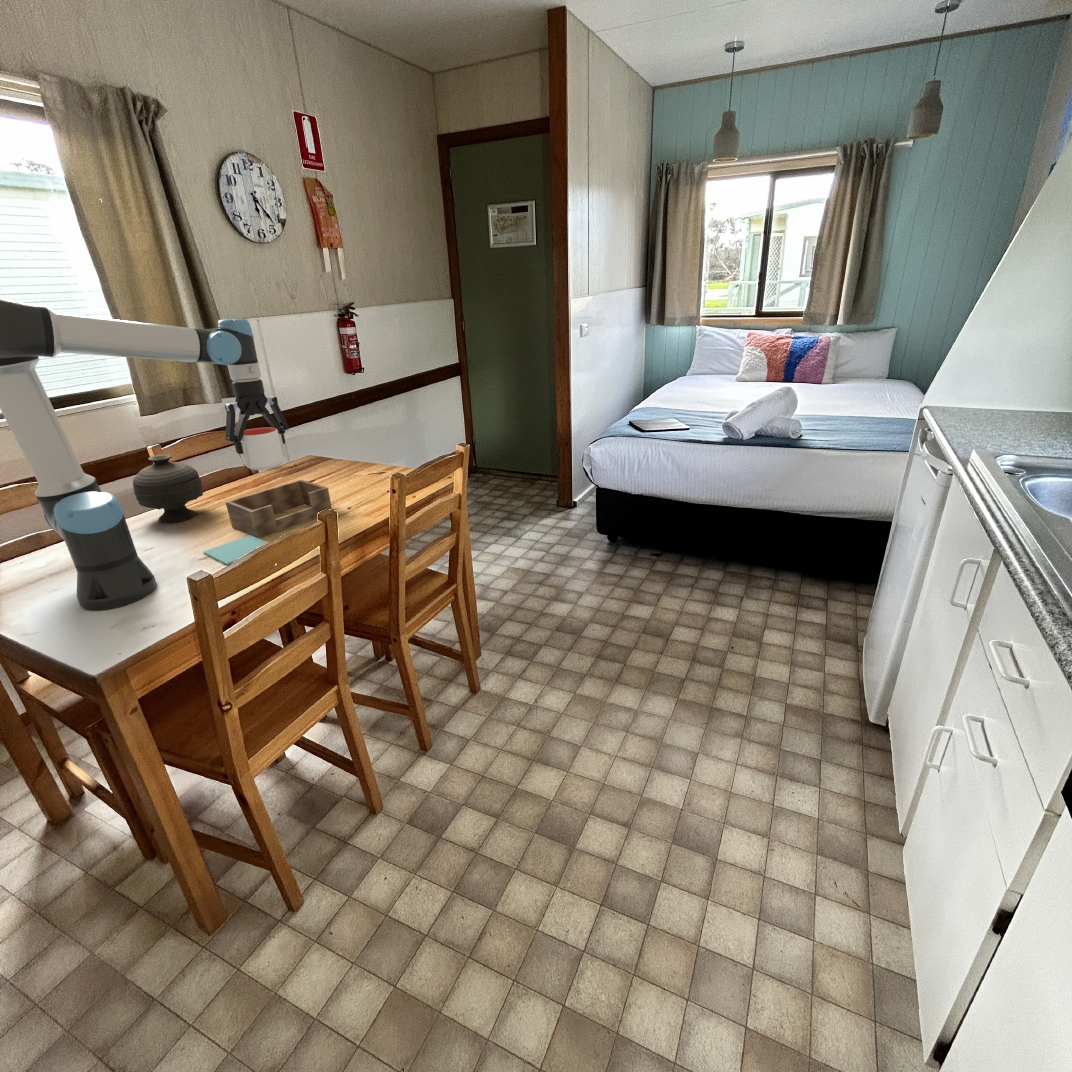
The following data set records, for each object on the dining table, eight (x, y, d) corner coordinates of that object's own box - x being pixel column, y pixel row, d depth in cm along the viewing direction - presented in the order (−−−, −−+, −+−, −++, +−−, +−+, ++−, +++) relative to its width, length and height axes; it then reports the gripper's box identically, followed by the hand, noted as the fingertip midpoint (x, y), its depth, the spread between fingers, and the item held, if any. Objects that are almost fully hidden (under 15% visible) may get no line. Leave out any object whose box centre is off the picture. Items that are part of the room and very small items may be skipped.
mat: (227, 565, 148) (226, 563, 147) (203, 553, 155) (203, 551, 155) (275, 547, 157) (274, 545, 157) (250, 536, 164) (250, 535, 164)
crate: (258, 538, 163) (251, 512, 160) (232, 527, 172) (225, 501, 168) (332, 512, 180) (327, 487, 177) (305, 503, 189) (300, 479, 186)
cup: (270, 471, 161) (263, 435, 158) (238, 470, 163) (230, 435, 159) (291, 461, 170) (284, 427, 167) (260, 460, 172) (253, 427, 168)
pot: (225, 508, 185) (201, 448, 176) (172, 533, 171) (144, 470, 162) (189, 502, 193) (166, 444, 184) (137, 526, 179) (108, 465, 170)
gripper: (210, 386, 147) (231, 471, 156) (292, 375, 163) (307, 452, 172) (197, 384, 152) (218, 467, 160) (278, 373, 168) (293, 449, 176)
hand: (264, 460), depth 166 cm, fingers closed on cup, 10 cm apart
